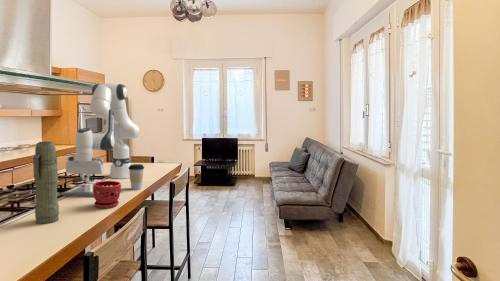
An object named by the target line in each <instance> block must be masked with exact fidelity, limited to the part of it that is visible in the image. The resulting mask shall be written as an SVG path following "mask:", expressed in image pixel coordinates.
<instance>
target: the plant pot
mask: <svg viewBox="0 0 500 281" xmlns="http://www.w3.org/2000/svg"><path fill="white" fill-rule="evenodd" d="M97 191H98V192H97ZM121 191H122V183H121V182H119V181H116V180H115V181H114V180H101V181H100V182H96V183H94V184H93V193H94V197H93V198H94V200H95V201H94V203H93V205H94V206H95V207H97V208H100V209H110V208H114V207H116V206H118V205H119V204H120V203H119V202H120V201H119V198H120V195H121Z"/></svg>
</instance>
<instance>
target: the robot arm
mask: <svg viewBox="0 0 500 281" xmlns="http://www.w3.org/2000/svg"><path fill="white" fill-rule="evenodd" d="M91 95H92V96H91V101H90V105H89V108H90V111H91V113H93V115H95V116H96V117H99V118H101V119H104V121H105V124H104V125H103V127H102V133H99V132H97V133H95V132H93V130H92V129H91V128H88V127H83V128H79V129H77V130H76V132H75V147H76V148H75V154H73V155H70V156H68V157H66V164H65V172H66V173H67V174H73V175H74V174H78V175H79V176H80V178H81V182H86V183H87V182H88V183H89V182H90V181H89V180H90V177H91V175H102V174H103V173H104V172H105V169H104V160H103V159H102V158H101V157H94V151H95V150H96V151H109V152H110V151H111V150H112V160H111V161H112V164H111V165H110V171H109V174H108V175H107V177H108V178H111V179H121V180H123V179H130V171H129V169H128V168H129V167H130V165H133V164H132V163H131V160H132V156H130V146H129V145H128V144H127V143H124V142H123V139H124V140H130V139H132V140H133V139H137V138H138V137H139V135H140V130H141V129H140V127H139V126H138V125H137V124H135V123H134V122H133V121H132V120H131V118H130V117H129V114H128V112H127V111H128V110H127V104H126V99H127V97H128V87H127V86H126V85H124V84H121V83H119V84H118V83H112V82H111V83H95V84H94V85H93V86H92V88H91ZM116 122H117V123H116ZM85 176H86V177H85Z"/></svg>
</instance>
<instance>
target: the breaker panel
mask: <svg viewBox="0 0 500 281" xmlns="http://www.w3.org/2000/svg"><path fill="white" fill-rule="evenodd" d="M97 192H98V191H97ZM62 196H63V197H71V198H72V197H73V198H74V197H77V198H78V197H79V198H80V197H81V198H82V197H83V198H94V193H93V191H92V192H91V193H87V192H85V185H80V186H79V185H78V186H75V187H72V188H70V189H69V190H66V191H64V192H63V193H62Z"/></svg>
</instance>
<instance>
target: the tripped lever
mask: <svg viewBox="0 0 500 281" xmlns="http://www.w3.org/2000/svg"><path fill="white" fill-rule="evenodd" d="M84 186H85V192H87V193H91V192H92V191H93V190H92V184H89V183H86V184H84Z"/></svg>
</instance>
